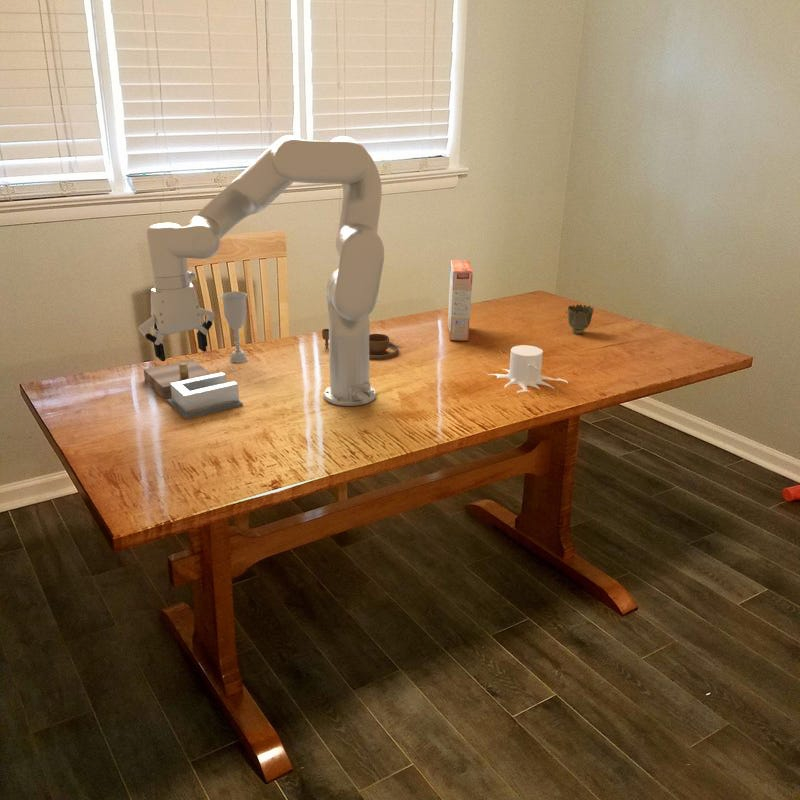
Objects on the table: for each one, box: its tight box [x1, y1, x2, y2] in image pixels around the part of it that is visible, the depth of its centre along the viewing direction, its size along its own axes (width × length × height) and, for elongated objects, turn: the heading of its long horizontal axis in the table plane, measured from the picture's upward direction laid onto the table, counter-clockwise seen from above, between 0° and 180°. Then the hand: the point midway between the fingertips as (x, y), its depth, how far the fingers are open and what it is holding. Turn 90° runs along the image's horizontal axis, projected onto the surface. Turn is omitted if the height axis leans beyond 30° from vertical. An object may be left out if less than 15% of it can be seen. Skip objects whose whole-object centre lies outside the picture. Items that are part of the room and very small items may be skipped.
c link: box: [170, 371, 240, 414], centre depth 187 cm, size 13×9×4 cm
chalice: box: [220, 291, 249, 364], centre depth 212 cm, size 7×7×18 cm
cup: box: [567, 303, 594, 335], centre depth 239 cm, size 8×7×8 cm
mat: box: [166, 397, 244, 420], centre depth 188 cm, size 12×14×1 cm
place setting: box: [321, 328, 403, 360], centre depth 224 cm, size 18×20×6 cm
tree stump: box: [487, 344, 569, 394], centre depth 204 cm, size 20×19×8 cm
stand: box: [143, 359, 212, 399], centre depth 198 cm, size 14×13×6 cm
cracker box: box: [447, 259, 474, 342], centre depth 234 cm, size 14×6×21 cm, turn 179°
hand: (182, 354), depth 181 cm, fingers open, 9 cm apart
